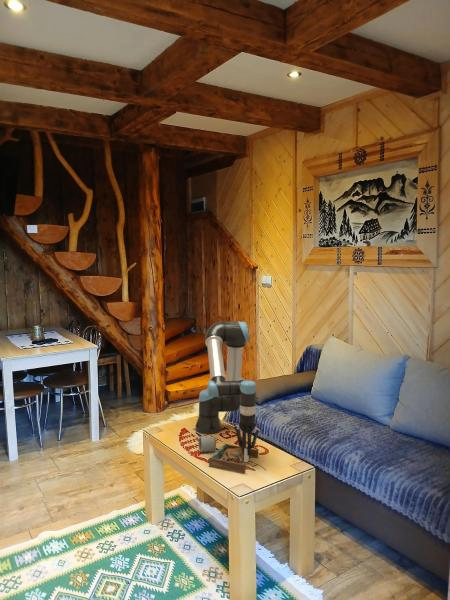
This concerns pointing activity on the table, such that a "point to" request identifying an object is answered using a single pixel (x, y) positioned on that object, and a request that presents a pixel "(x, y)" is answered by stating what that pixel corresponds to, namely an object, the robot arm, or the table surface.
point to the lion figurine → (233, 453)
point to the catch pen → (227, 465)
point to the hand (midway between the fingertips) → (246, 461)
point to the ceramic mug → (207, 444)
